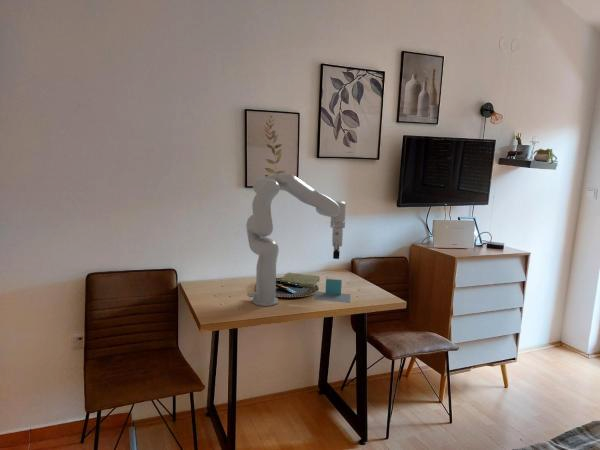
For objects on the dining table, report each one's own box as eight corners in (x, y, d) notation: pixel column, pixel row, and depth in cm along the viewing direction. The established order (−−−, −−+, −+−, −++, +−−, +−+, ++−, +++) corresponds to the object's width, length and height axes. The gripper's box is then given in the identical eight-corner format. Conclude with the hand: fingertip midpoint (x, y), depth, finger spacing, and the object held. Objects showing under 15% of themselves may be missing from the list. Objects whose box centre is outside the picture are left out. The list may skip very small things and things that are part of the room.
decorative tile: (286, 277, 255) (286, 271, 255) (319, 280, 251) (320, 274, 251) (278, 286, 237) (278, 280, 237) (314, 290, 233) (314, 283, 233)
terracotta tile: (325, 293, 224) (326, 279, 222) (325, 292, 225) (326, 278, 224) (340, 295, 223) (341, 280, 221) (340, 294, 224) (341, 279, 223)
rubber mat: (313, 301, 214) (313, 299, 214) (316, 292, 227) (316, 291, 227) (349, 304, 212) (350, 302, 212) (350, 295, 225) (350, 294, 225)
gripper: (344, 227, 218) (342, 262, 221) (345, 222, 233) (343, 255, 236) (329, 226, 219) (328, 261, 222) (331, 221, 234) (330, 254, 237)
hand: (336, 258), depth 229 cm, fingers closed
